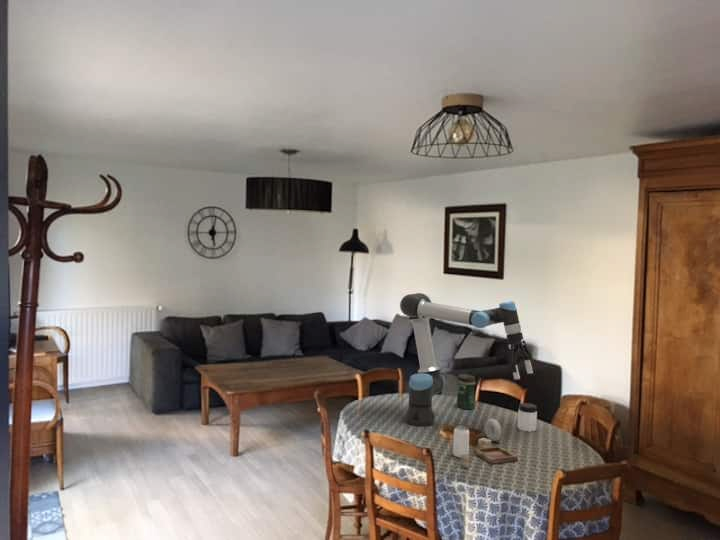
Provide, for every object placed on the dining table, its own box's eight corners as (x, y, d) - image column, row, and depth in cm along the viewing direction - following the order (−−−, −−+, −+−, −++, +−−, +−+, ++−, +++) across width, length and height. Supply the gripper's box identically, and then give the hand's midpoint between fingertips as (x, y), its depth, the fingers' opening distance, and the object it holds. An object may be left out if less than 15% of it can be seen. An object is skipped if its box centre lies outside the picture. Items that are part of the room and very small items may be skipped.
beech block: (478, 448, 249) (478, 439, 249) (483, 446, 252) (483, 437, 251) (485, 451, 246) (486, 441, 246) (491, 449, 249) (491, 440, 249)
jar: (527, 433, 273) (528, 408, 272) (514, 428, 280) (515, 404, 279) (539, 430, 278) (540, 406, 277) (526, 425, 285) (527, 402, 284)
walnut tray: (473, 453, 242) (473, 449, 242) (498, 450, 247) (498, 446, 247) (491, 464, 230) (491, 459, 230) (517, 461, 235) (517, 456, 235)
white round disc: (502, 443, 256) (503, 421, 256) (496, 444, 255) (497, 422, 254) (488, 436, 265) (489, 415, 265) (482, 437, 264) (483, 416, 263)
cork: (459, 465, 228) (459, 454, 228) (466, 464, 229) (466, 453, 229) (463, 468, 225) (464, 457, 225) (470, 467, 226) (471, 456, 226)
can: (451, 452, 242) (452, 424, 242) (466, 452, 243) (467, 425, 242) (455, 458, 236) (456, 429, 235) (470, 458, 236) (471, 429, 236)
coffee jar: (477, 408, 313) (478, 375, 312) (466, 410, 308) (468, 377, 308) (464, 404, 321) (465, 372, 320) (454, 406, 316) (455, 373, 315)
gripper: (508, 335, 263) (518, 380, 261) (532, 328, 281) (542, 370, 279) (494, 337, 268) (504, 382, 266) (518, 330, 286) (528, 371, 284)
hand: (523, 376), depth 272 cm, fingers open, 13 cm apart
